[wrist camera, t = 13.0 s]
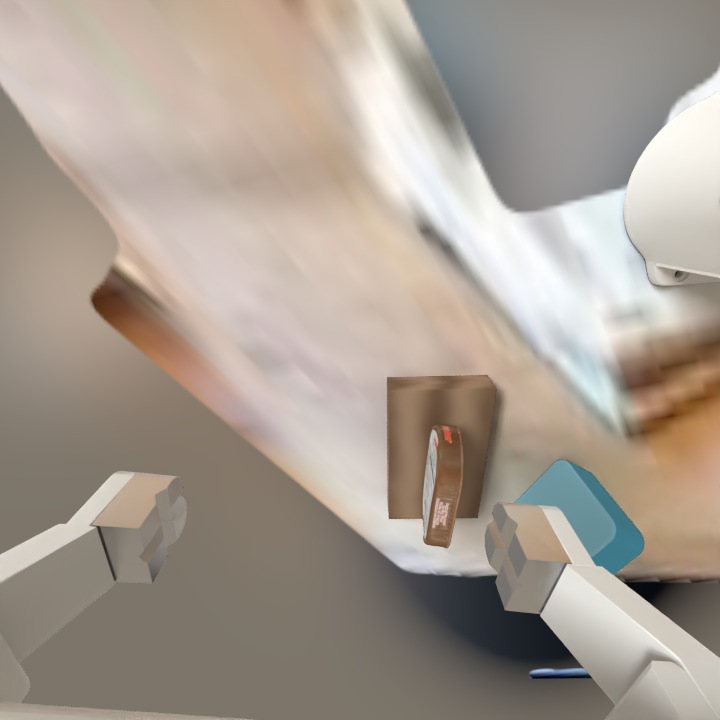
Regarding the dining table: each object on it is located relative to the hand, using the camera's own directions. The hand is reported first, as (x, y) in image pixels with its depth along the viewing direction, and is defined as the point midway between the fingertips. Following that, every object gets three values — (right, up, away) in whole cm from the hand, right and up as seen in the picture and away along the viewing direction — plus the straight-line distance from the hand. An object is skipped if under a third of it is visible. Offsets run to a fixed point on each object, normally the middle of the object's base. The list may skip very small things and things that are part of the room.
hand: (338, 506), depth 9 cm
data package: (+27, -14, +40) cm, 51 cm away
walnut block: (+10, -7, +38) cm, 40 cm away
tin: (+10, -9, +34) cm, 37 cm away
